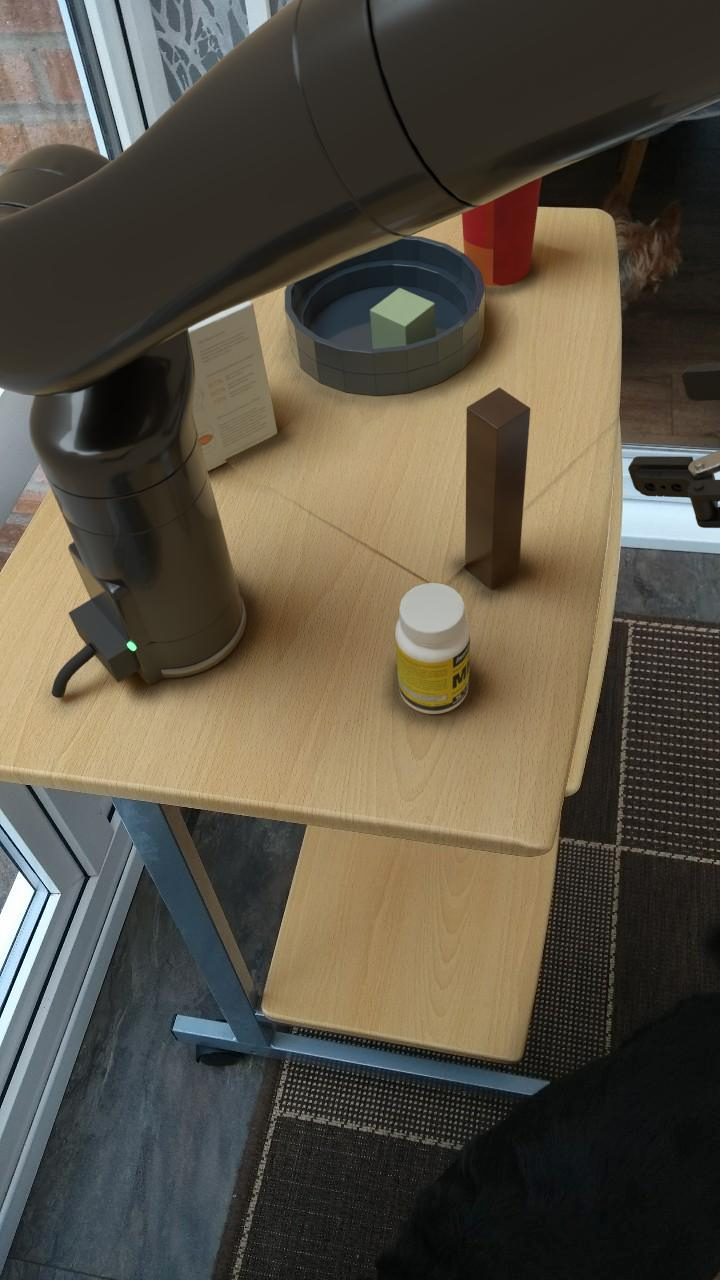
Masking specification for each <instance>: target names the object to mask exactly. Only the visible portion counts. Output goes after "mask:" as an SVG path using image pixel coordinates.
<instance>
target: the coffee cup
mask: <svg viewBox="0 0 720 1280" xmlns="http://www.w3.org/2000/svg"><path fill="white" fill-rule="evenodd" d="M542 179H543V176H542V177H540V178H538V179H536V180H534V181H531V182H529V183H527V184H525V185H523V186H521V187H519V188H517V189H515V190H513V191H511V192H509V193H507V194H505V195H503V196H501V197H499V198H497V199H495V200H493V201H491V202H489V203H487V204H484V205H481V206H479V207H477V208H474V209H472V210H470V211H467V212H465V213H463V214H461V220H462V221H461V223H462V239H463V253H464V254H465V255H467V256H468V257H469V258H470V259H471V260H472V262H473V263H474V264H475V265H476V266H477V268H478V269H479V270H480V271H481V274H482V279H483V283H484V286H489V287H503V286H508V285H513V284H515V283H518V282H519V281H521V280H523V279H524V278H525V277H526V276H528V274H529V273H530V269H531V261H532V255H533V248H534V241H535V233H536V225H537V218H538V209H539V201H540V194H541V193H540V192H541V187H542V186H541V185H542Z"/></svg>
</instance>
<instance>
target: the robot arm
mask: <svg viewBox="0 0 720 1280" xmlns="http://www.w3.org/2000/svg"><path fill="white" fill-rule="evenodd" d="M717 102H720V0H291V1H289V3H288V4H285V6H284V7H282V8H281V9H280V10H279V11H277V12H276V13H275V14H273V15H272V16H271V17H270V18H268V19H267V20H266V21H265V22H263V23H262V24H261V25H259V26H258V27H257V28H256V29H254V30H253V31H252V32H250V33H249V34H248V35H247V36H245V38H244V39H243V40H242V41H240V42H239V43H238V44H237V45H235V46H234V47H233V48H232V49H231V50H230V51H228V52H227V53H226V54H225V55H224V56H222V58H221V59H219V60H218V61H217V62H215V64H214V65H213V66H212V67H211V68H209V69H208V70H207V71H206V72H205V73H204V74H202V76H201V77H199V78H198V80H196V81H195V82H194V83H193V84H192V85H191V86H190V87H189V88H188V89H187V90H186V91H184V93H183V94H182V95H181V96H180V97H179V98H177V100H176V101H175V102H174V103H172V105H171V106H170V107H169V108H167V110H165V111H164V113H163V114H161V115H160V116H159V117H158V119H156V120H155V122H153V123H152V124H151V125H150V126H149V127H148V128H147V129H146V130H145V131H144V132H143V133H142V134H141V135H140V136H138V138H137V139H136V140H135V141H134V142H133V143H132V144H130V145H129V146H128V147H127V148H126V149H124V151H122V152H121V153H120V154H119V155H118V156H116V157H115V158H113V160H111V159H109V158H107V156H104V155H102V154H100V153H99V152H96V151H94V150H92V149H90V148H87V147H84V146H81V145H78V144H73V143H72V144H71V143H51V144H50V143H49V144H45V145H40V146H38V147H35V148H33V149H32V148H31V150H29V151H27V152H25V153H23V154H22V155H21V156H19V157H18V158H17V159H15V160H14V161H13V162H12V163H11V164H10V165H9V166H8V167H7V168H6V169H5V170H4V171H3V172H2V173H1V175H0V389H2V390H4V391H8V392H12V393H16V394H20V395H24V396H32V397H33V399H32V402H31V407H30V410H29V416H28V433H29V439H30V443H31V446H32V449H33V451H34V454H35V456H36V458H37V461H38V463H39V465H40V468H41V470H42V472H43V474H44V475H45V478H46V480H47V482H48V485H49V487H50V489H51V491H52V495H53V497H54V499H55V501H56V503H57V506H58V508H59V510H60V513H61V514H62V517H63V520H64V521H65V524H66V526H67V528H68V530H69V533H70V536H71V538H72V540H73V541H72V542H71V543H69V544H68V546H67V547H68V548H67V549H68V552H69V554H70V556H71V558H72V561H73V563H74V565H75V567H76V569H77V572H78V574H79V576H80V579H81V581H82V583H83V585H84V588H85V590H86V592H87V594H88V597H89V600H87V601H86V602H84V603H82V604H80V605H79V606H77V607H75V608H73V609H72V610H69V612H68V615H69V617H70V620H71V622H72V623H73V626H74V628H75V630H76V632H77V634H78V636H79V638H80V639H81V640H82V642H84V644H85V645H84V646H83V647H82V649H80V650H78V652H76V654H75V655H73V656H72V657H71V658H70V659H69V660H68V661H67V662H66V663H65V664H64V665H63V666H62V667H61V669H60V670H59V672H58V673H57V675H56V676H55V679H54V681H53V684H52V689H51V695H52V697H54V698H57V699H61V698H64V697H65V695H66V694H65V693H66V690H67V686H68V683H69V681H70V680H71V678H72V677H73V676H74V675H75V674H76V673H77V672H78V671H79V670H80V669H81V668H82V667H84V665H85V664H87V663H88V662H89V661H90V660H91V659H92V658H94V656H95V657H96V658H97V659H98V660H99V662H100V663H101V664H102V665H103V667H104V668H105V669H106V671H108V672H109V674H110V675H111V676H112V678H113V679H114V680H115V681H116V682H117V684H118V683H121V682H122V681H124V680H125V679H127V678H128V677H130V676H131V675H133V674H135V673H136V672H137V673H138V675H140V677H141V678H142V679H143V680H144V681H145V683H146V684H147V685H154V684H155V683H156V682H159V681H160V680H162V679H165V678H167V679H168V678H171V679H172V678H183V677H189V676H191V675H192V676H193V675H196V674H200V673H202V672H204V671H207V670H208V669H211V668H213V667H214V666H216V665H217V664H219V663H220V662H222V661H223V660H224V659H226V658H227V657H228V656H229V655H230V654H231V653H232V652H233V651H234V650H235V649H236V647H237V646H238V645H239V642H240V641H241V639H242V637H243V635H244V633H245V629H246V626H247V625H246V624H247V610H246V606H245V602H244V599H243V596H242V594H241V590H240V586H239V583H238V580H237V577H236V573H235V570H234V566H233V562H232V559H231V555H230V551H229V547H228V543H227V539H226V536H225V533H224V528H223V524H222V520H221V517H220V513H219V510H218V506H217V501H216V498H215V495H214V494H215V493H214V491H213V487H212V483H211V479H210V475H209V471H207V467H206V464H205V460H204V456H203V452H202V448H201V444H200V440H199V437H198V433H197V429H196V424H195V420H194V416H193V411H192V406H193V397H194V390H195V365H194V358H193V352H192V347H191V342H190V337H189V331H188V328H190V327H192V326H194V325H196V324H198V323H200V322H202V321H204V320H206V319H208V318H210V317H212V316H214V315H216V314H218V313H220V312H223V311H225V310H228V309H230V308H233V307H235V306H237V305H240V304H242V303H245V302H248V301H252V300H253V301H254V300H256V299H258V298H260V297H263V296H266V295H268V294H271V293H273V292H275V291H278V290H280V289H283V288H286V287H287V286H288V285H291V284H293V283H296V282H298V281H300V280H303V279H305V278H307V277H310V276H312V275H314V274H316V273H319V272H321V271H323V270H326V269H328V268H330V267H333V266H335V265H337V264H339V263H342V262H344V261H347V260H349V259H351V258H354V257H356V256H359V255H361V254H364V253H366V252H369V251H371V250H374V249H377V248H379V247H382V246H385V245H388V244H390V243H393V242H396V241H399V240H401V239H404V238H406V237H409V236H415V235H416V234H418V233H420V232H423V231H425V230H427V229H430V228H432V227H435V226H437V225H439V224H442V223H444V222H446V221H448V220H450V219H453V218H456V217H458V216H460V215H462V214H463V213H465V212H467V211H470V210H472V209H474V208H477V207H479V206H481V205H484V204H487V203H489V202H491V201H493V200H495V199H497V198H499V197H501V196H503V195H505V194H507V193H509V192H511V191H513V190H515V189H517V188H519V187H521V186H523V185H525V184H527V183H529V182H531V181H534V180H536V179H538V178H540V177H542V178H543V177H545V176H547V175H549V174H552V173H553V172H556V171H558V170H560V169H563V168H565V167H569V166H571V165H573V164H575V163H578V162H580V161H582V160H584V159H588V158H589V157H591V156H595V155H596V154H600V153H601V152H604V151H606V150H607V151H608V150H609V149H612V148H614V147H617V146H619V145H622V144H623V143H626V142H628V141H631V140H633V139H635V138H638V137H640V136H643V135H645V134H647V133H650V132H652V131H654V130H656V129H659V128H661V127H664V126H666V125H669V124H671V123H672V122H674V121H675V122H676V121H677V120H679V119H682V118H683V117H686V116H688V115H690V114H693V113H694V112H697V111H699V110H701V109H703V108H705V107H706V108H707V107H709V106H710V105H713V104H715V103H717ZM681 379H682V383H683V385H684V386H683V387H684V390H685V391H684V392H685V394H686V396H687V398H688V399H689V400H691V401H695V402H703V401H720V361H717V362H715V361H714V362H713V361H712V362H710V361H709V362H705V363H700V364H689V365H688V366H686V368H685V370H684V371H683V374H682V375H681ZM627 468H628V469H627V471H628V473H629V476H630V480H631V482H632V486H633V487H634V489H635V490H636V491H637V492H638V493H639V494H640V495H643V496H645V497H657V498H658V497H659V498H661V497H665V498H687V499H690V502H691V505H692V508H693V513H694V516H695V521H696V524H697V526H698V527H699V528H701V529H702V528H703V529H720V506H719V502H720V479H716V477H715V474H717V473H720V449H719V450H716V451H713V452H711V453H709V454H706V455H704V456H701V457H698V458H696V459H694V457H693V456H675V455H674V456H672V455H671V456H670V455H669V456H667V455H666V456H664V455H663V456H659V455H655V456H653V455H652V456H650V455H648V456H647V455H645V456H643V455H641V456H640V455H639V456H635V457H633V459H632V460H631V461H630V464H629V465H628V467H627Z"/></svg>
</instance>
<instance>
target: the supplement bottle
mask: <svg viewBox="0 0 720 1280" xmlns="http://www.w3.org/2000/svg"><path fill="white" fill-rule="evenodd" d="M398 610H399V612H398V613H399V617H398V619H397V622H396V625H395V629H394V639H395V650H396V651H395V652H396V666H397V667H396V668H397V683H398V689H399V690H398V691H399V694H400V696H401V698H402V699H403V701H404V703H406V704H407V706H408V707H410V708H411V709H413V710H415V711H417V712H419V713H423V714H429V715H438V714H444V713H447V712H451V711H452V710H454V709H455V708H457V707H458V706H459V705H461V704H462V702H463V701H464V700H465V698H466V697H467V695H468V691H469V689H470V659H471V658H470V657H471V655H470V654H471V651H470V650H471V627H470V624H469V620H468V619H467V617H466V607H465V601H464V599H463V597H462V595H461V594H460V593H459V592H458V591H457V590H456V589H455V588H453V587H451V586H450V585H447V584H443V583H440V582H439V583H438V582H426V583H422V584H418V585H416V586H414V587H412V588H410V589H408V591H407V592H406V593H405V594H404V595H403V597H402V598H401V600H400V602H399V609H398Z"/></svg>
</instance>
